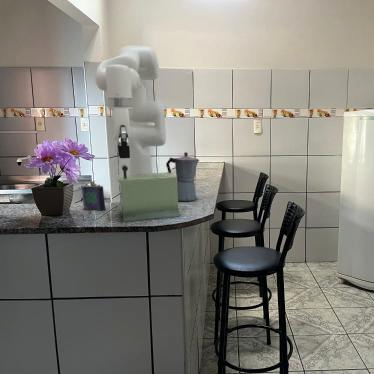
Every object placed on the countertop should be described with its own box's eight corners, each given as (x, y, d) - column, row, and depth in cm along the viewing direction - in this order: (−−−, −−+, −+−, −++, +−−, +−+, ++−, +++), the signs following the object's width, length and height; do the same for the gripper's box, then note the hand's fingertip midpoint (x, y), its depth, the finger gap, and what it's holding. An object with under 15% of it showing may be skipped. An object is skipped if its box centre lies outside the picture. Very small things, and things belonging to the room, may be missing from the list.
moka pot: (206, 198, 155) (204, 152, 152) (175, 204, 144) (173, 153, 141) (193, 196, 161) (191, 151, 158) (162, 201, 151) (160, 153, 148)
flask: (82, 209, 136) (79, 181, 135) (87, 207, 139) (85, 180, 138) (102, 210, 134) (100, 182, 132) (107, 209, 136) (105, 181, 135)
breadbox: (123, 221, 116) (121, 182, 114) (121, 212, 130) (119, 177, 128) (178, 216, 123) (177, 178, 121) (171, 208, 136) (169, 174, 134)
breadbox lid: (118, 182, 114) (117, 167, 113) (116, 177, 128) (115, 163, 127) (177, 178, 121) (176, 164, 120) (169, 174, 134) (169, 161, 134)
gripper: (107, 105, 125) (111, 155, 128) (108, 102, 109) (112, 159, 112) (130, 106, 127) (133, 154, 130) (134, 103, 112) (138, 158, 115)
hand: (124, 157), depth 121 cm, fingers open, 9 cm apart
